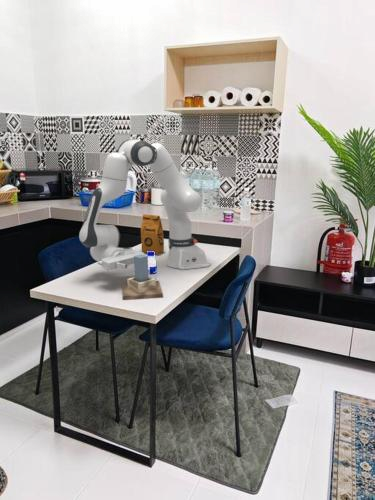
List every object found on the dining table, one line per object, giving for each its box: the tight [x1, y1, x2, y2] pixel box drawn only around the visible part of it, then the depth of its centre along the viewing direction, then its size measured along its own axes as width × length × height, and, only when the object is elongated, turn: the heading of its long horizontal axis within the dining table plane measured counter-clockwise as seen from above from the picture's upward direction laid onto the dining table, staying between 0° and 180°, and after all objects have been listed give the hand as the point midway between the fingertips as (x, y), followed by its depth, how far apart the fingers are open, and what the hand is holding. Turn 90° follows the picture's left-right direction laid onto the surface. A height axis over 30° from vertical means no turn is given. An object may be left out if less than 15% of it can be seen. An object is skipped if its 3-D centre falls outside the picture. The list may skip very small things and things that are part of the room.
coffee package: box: [140, 213, 165, 256], centre depth 220 cm, size 10×12×22 cm
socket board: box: [121, 275, 164, 301], centre depth 164 cm, size 16×16×6 cm
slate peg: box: [133, 254, 149, 283], centre depth 163 cm, size 4×4×14 cm
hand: (134, 264), depth 165 cm, fingers open, 8 cm apart
